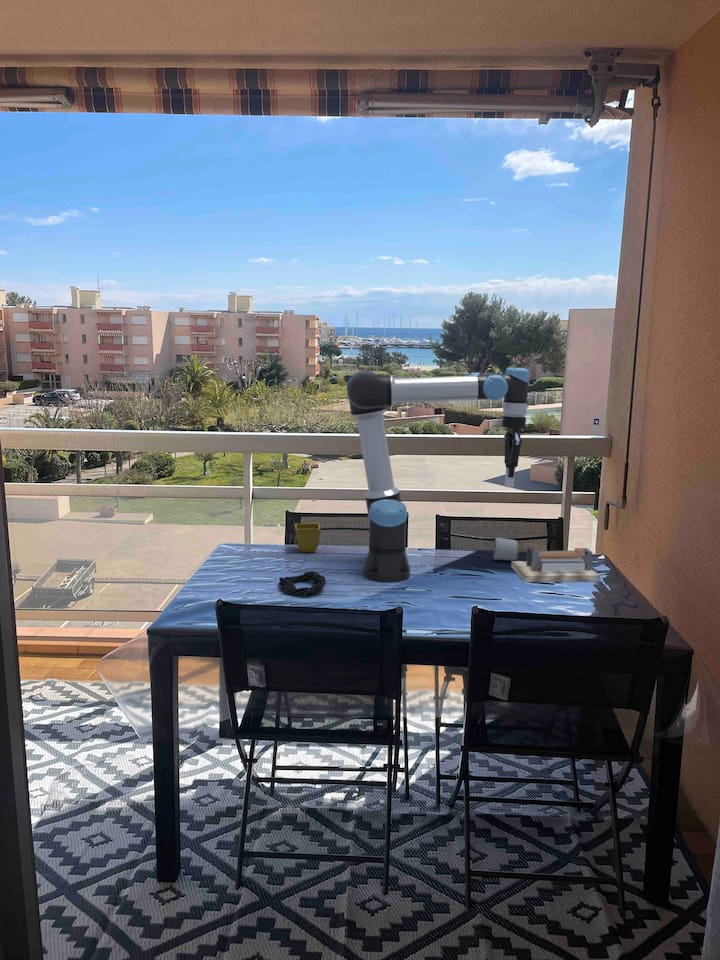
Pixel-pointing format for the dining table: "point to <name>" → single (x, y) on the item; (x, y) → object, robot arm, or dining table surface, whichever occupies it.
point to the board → (552, 574)
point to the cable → (308, 576)
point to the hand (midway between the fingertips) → (509, 486)
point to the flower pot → (307, 536)
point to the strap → (561, 553)
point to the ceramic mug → (506, 549)
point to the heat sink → (559, 562)
